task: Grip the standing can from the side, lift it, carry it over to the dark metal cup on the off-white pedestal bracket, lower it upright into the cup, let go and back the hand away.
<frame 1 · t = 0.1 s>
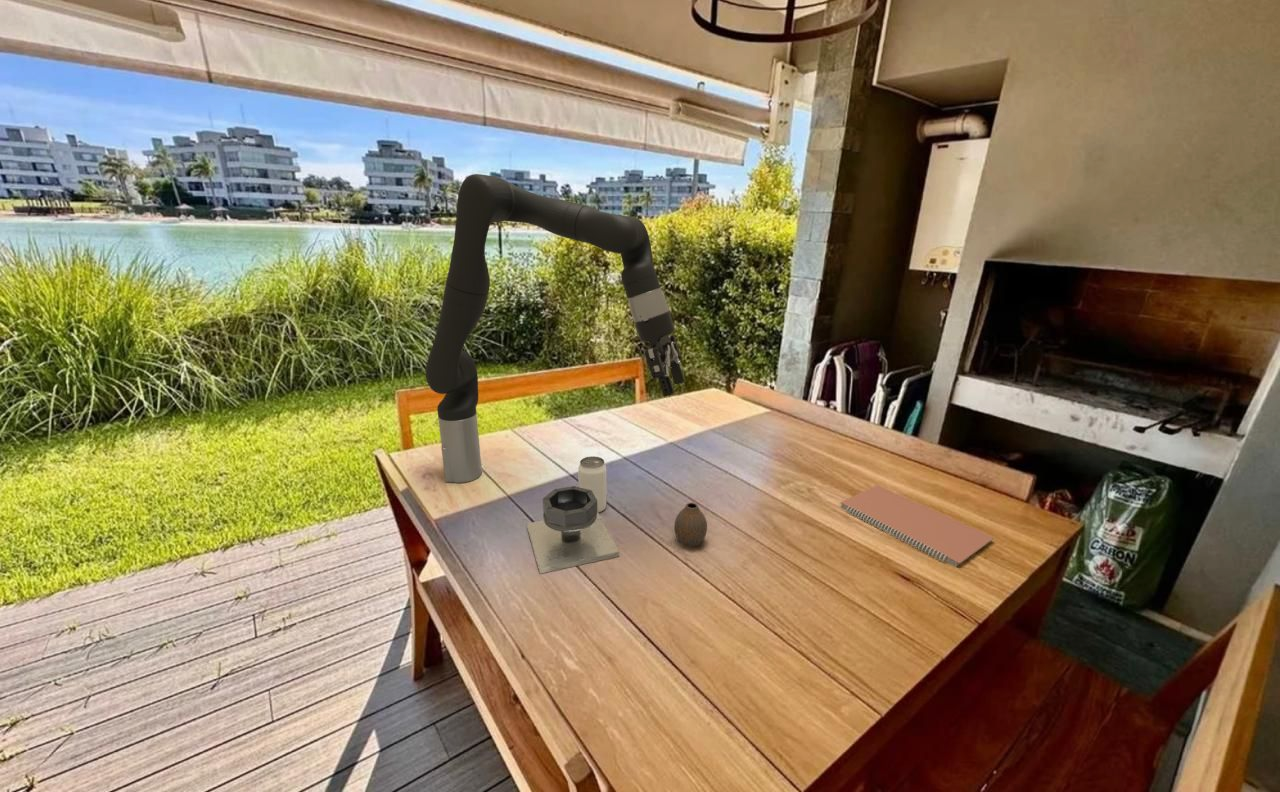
hand: (674, 388, 105), 31 cm above the table, tool tilted 20°, fingers open, 8 cm apart
notebook: (910, 526, 114), on the table
cup bracket: (571, 541, 105), on the table
vase: (689, 541, 107), on the table
can: (592, 507, 118), on the table
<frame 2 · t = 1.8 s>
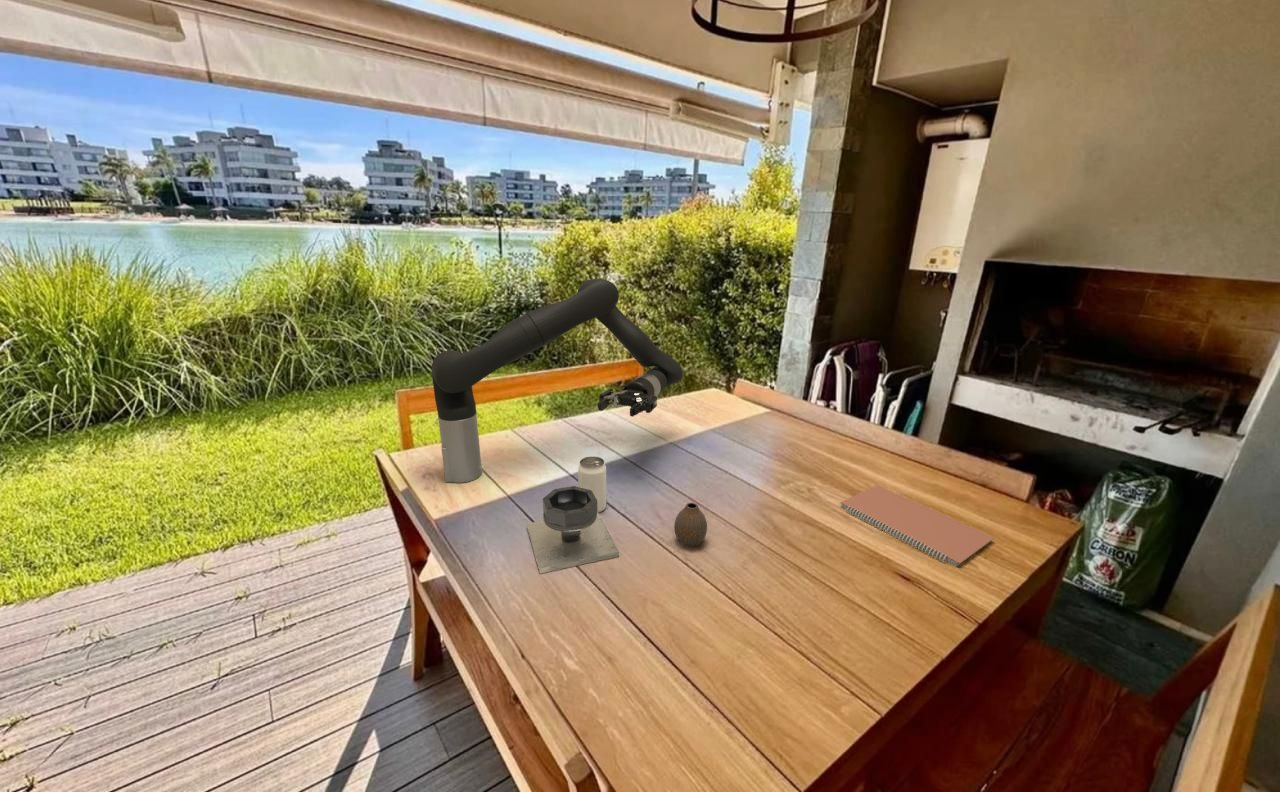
hand: (615, 409, 120), 21 cm above the table, tool horizontal, fingers open, 8 cm apart
nothing on the table moved.
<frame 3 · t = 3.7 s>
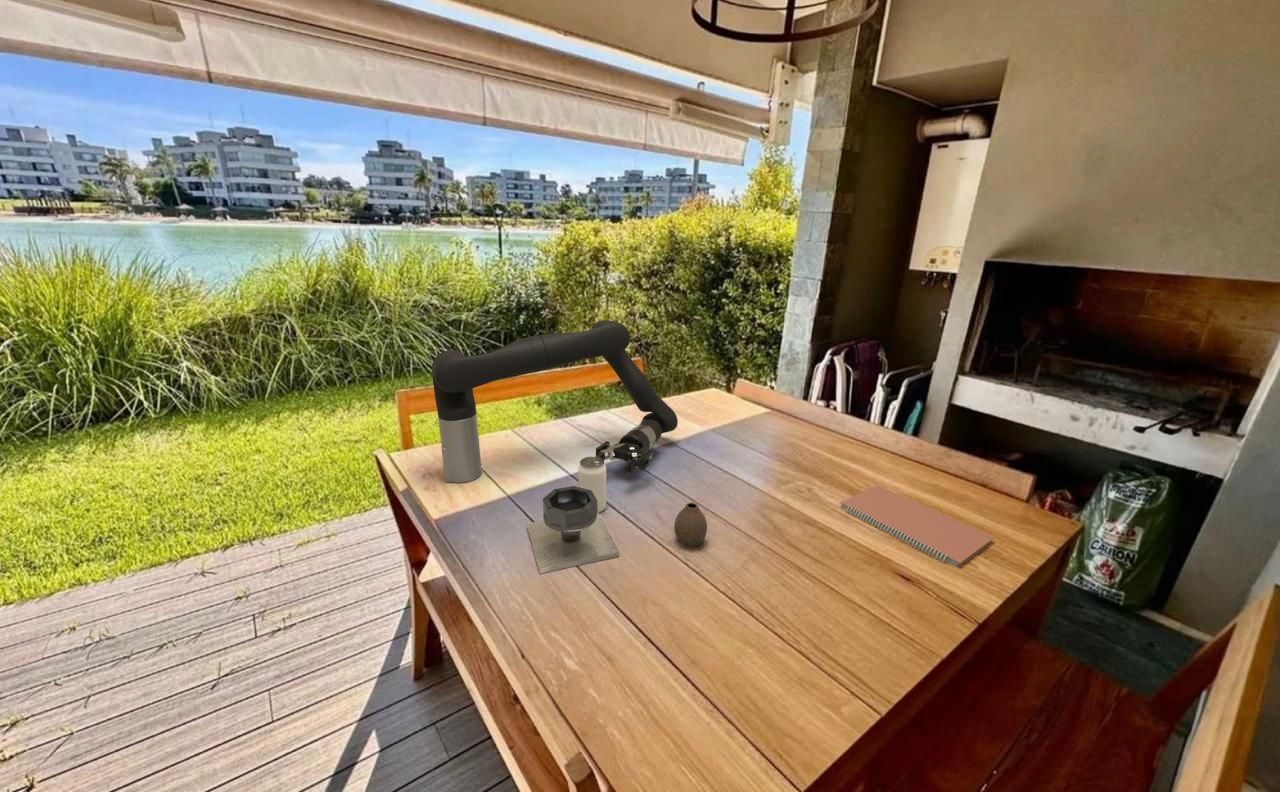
hand: (611, 466, 124), 7 cm above the table, tool horizontal, fingers open, 8 cm apart
nothing on the table moved.
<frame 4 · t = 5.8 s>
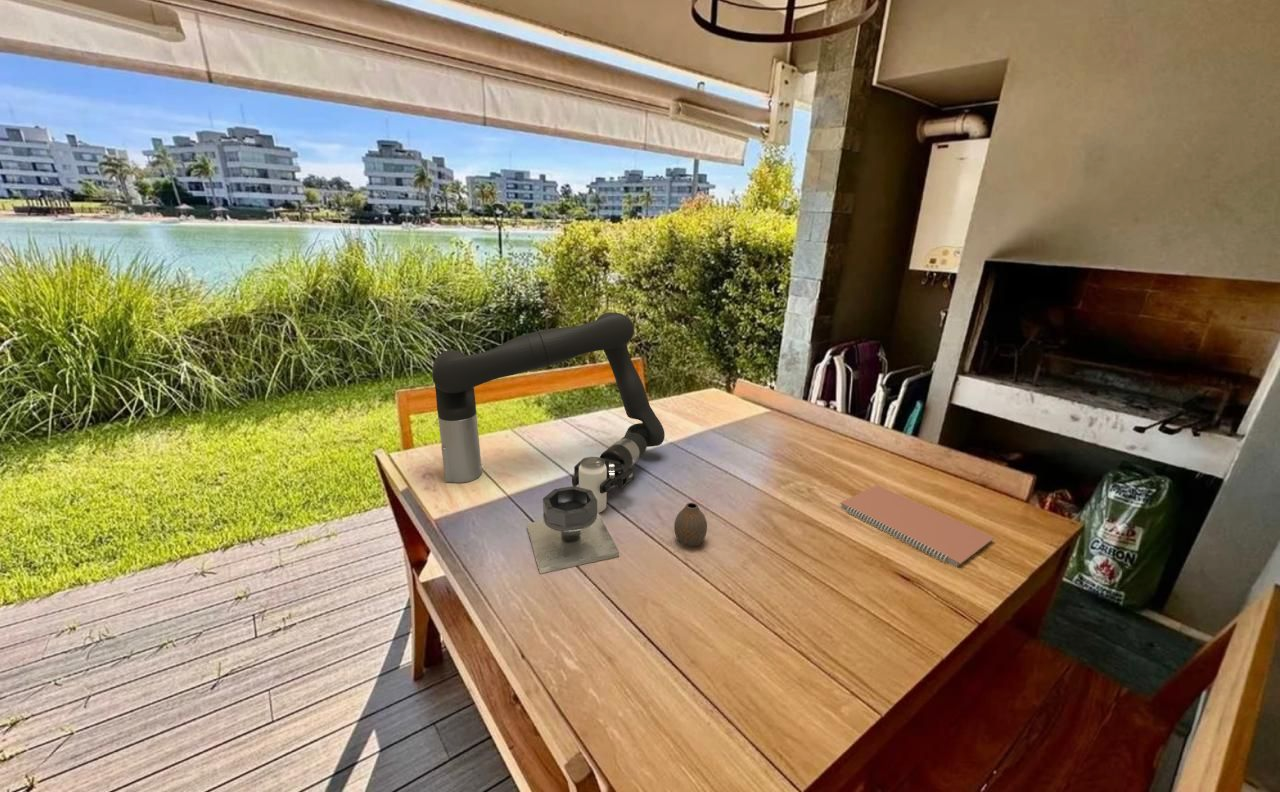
hand: (587, 486, 114), 7 cm above the table, tool horizontal, fingers open, 6 cm apart
can: (592, 508, 118), on the table, touching gripper
everything else where it was.
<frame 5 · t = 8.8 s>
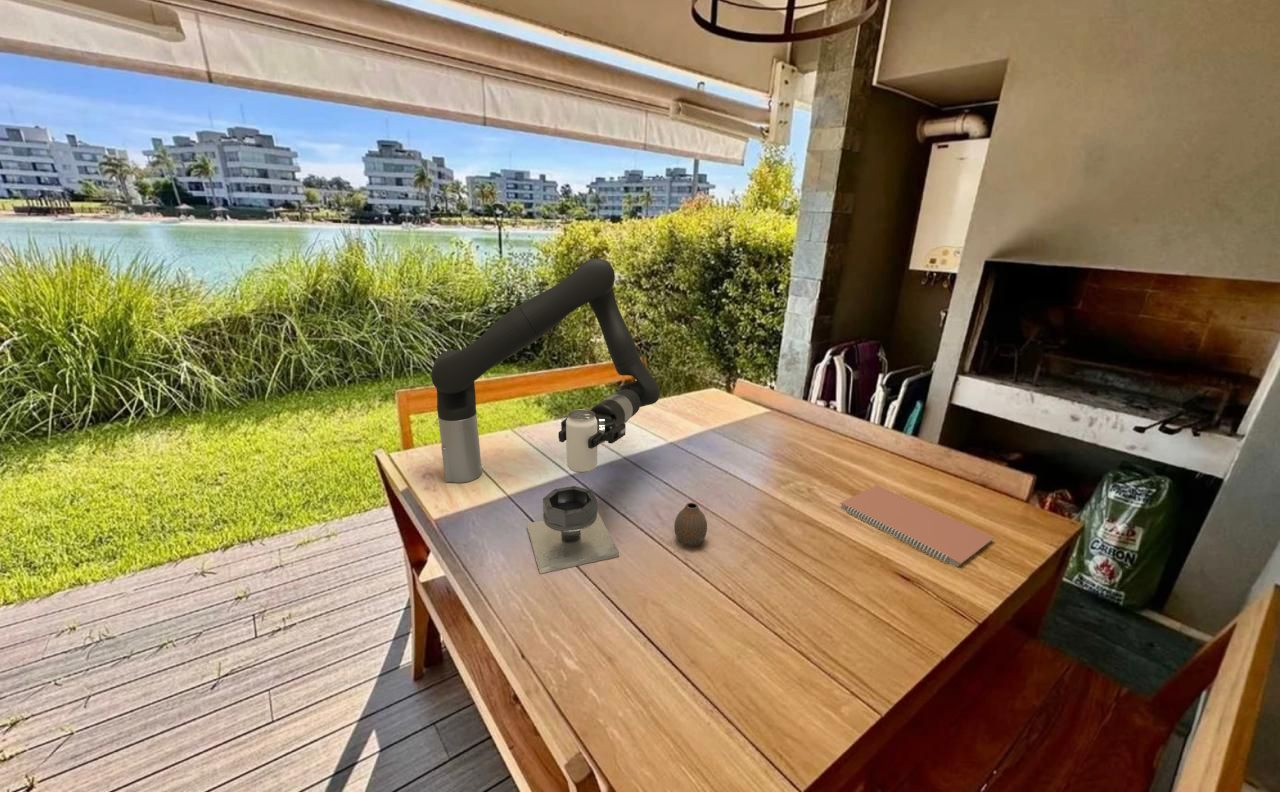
hand: (575, 440, 102), 22 cm above the table, tool horizontal, fingers closed on can, 6 cm apart
can: (582, 467, 107), point 14 cm above the table, touching gripper
everything else where it was.
when the fingers open (16 cm above the table, at t = 11.3 s): can drops 1 cm, resting on cup bracket.
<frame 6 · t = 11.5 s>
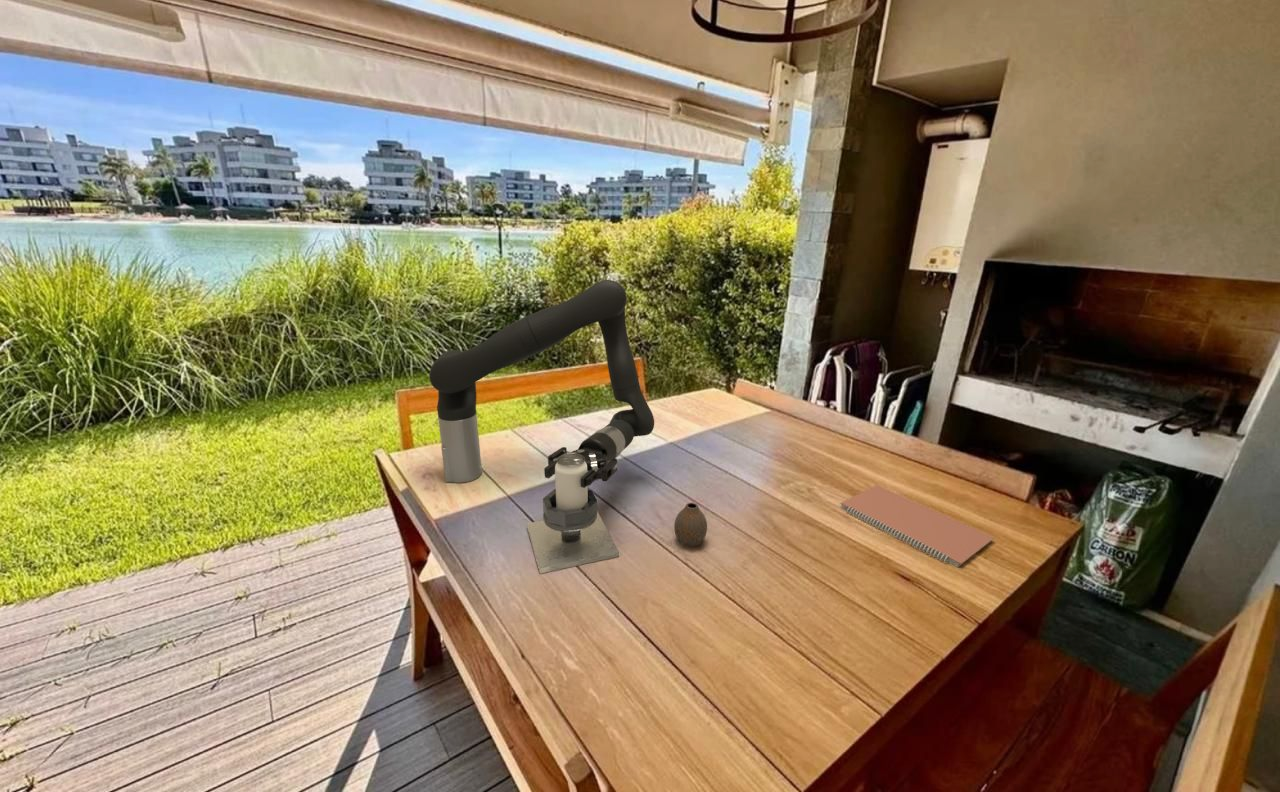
hand: (563, 478, 98), 16 cm above the table, tool horizontal, fingers open, 8 cm apart
can: (572, 512, 103), point 7 cm above the table, touching cup bracket
everything else where it was.
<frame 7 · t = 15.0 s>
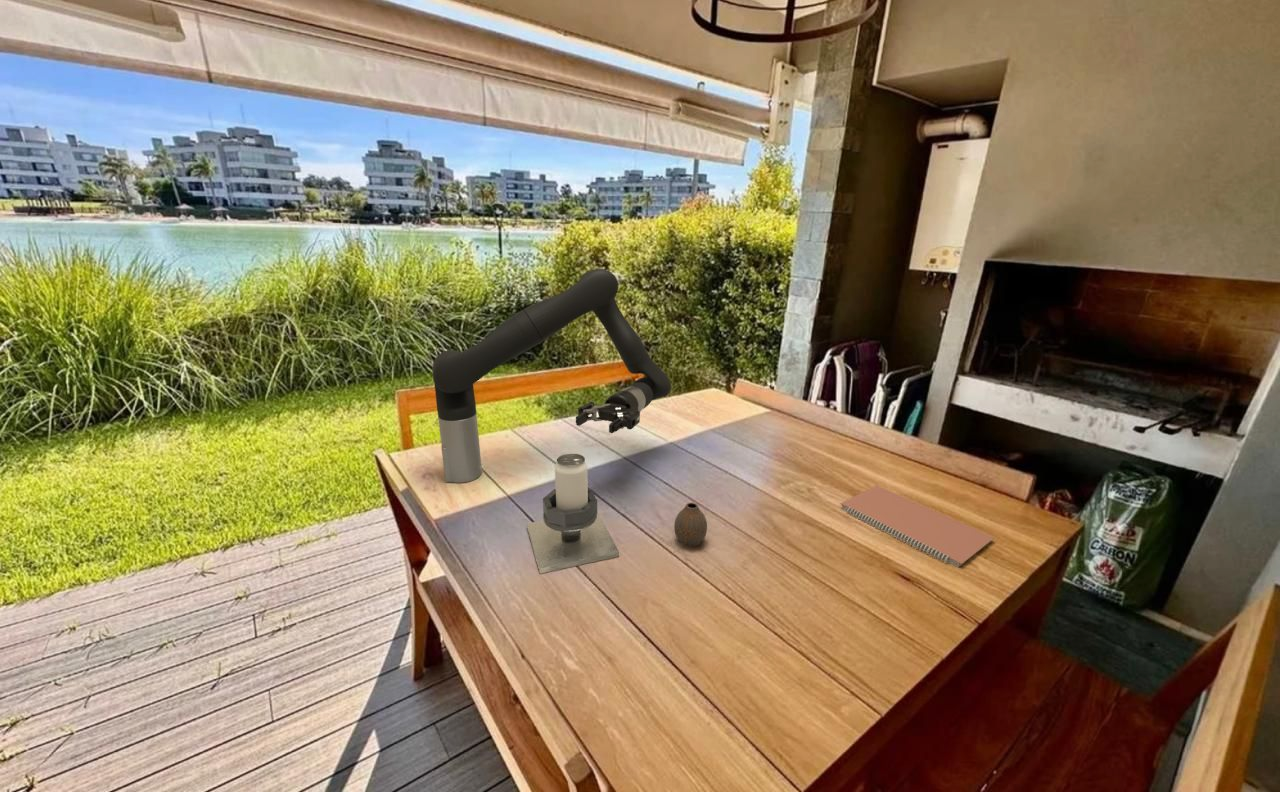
hand: (593, 425, 112), 21 cm above the table, tool horizontal, fingers open, 8 cm apart
nothing on the table moved.
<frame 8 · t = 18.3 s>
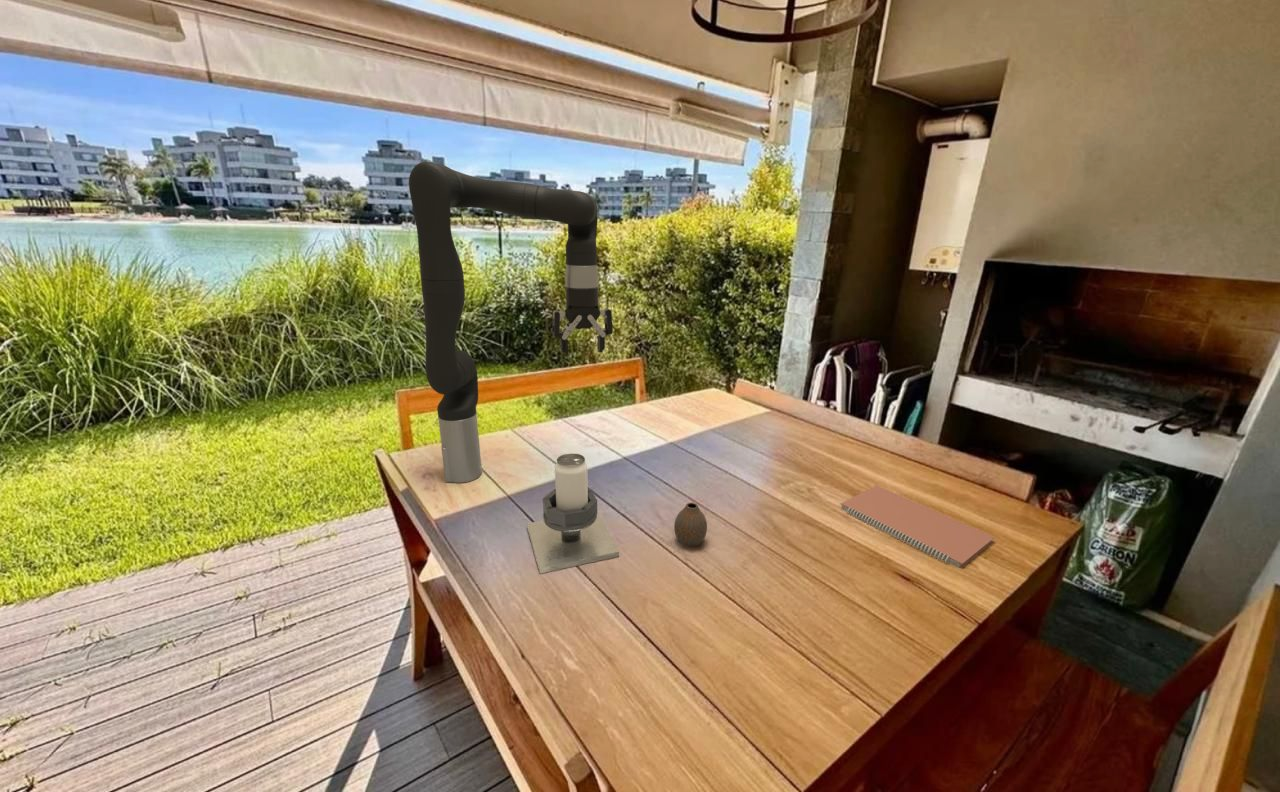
hand: (583, 352, 121), 34 cm above the table, tool pointing down, fingers open, 8 cm apart
nothing on the table moved.
at the end: can 0.5 cm off-centre on the cup bracket, point 7.0 cm above the cup bracket's base; can tilted 0°; the gripper is holding nothing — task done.
